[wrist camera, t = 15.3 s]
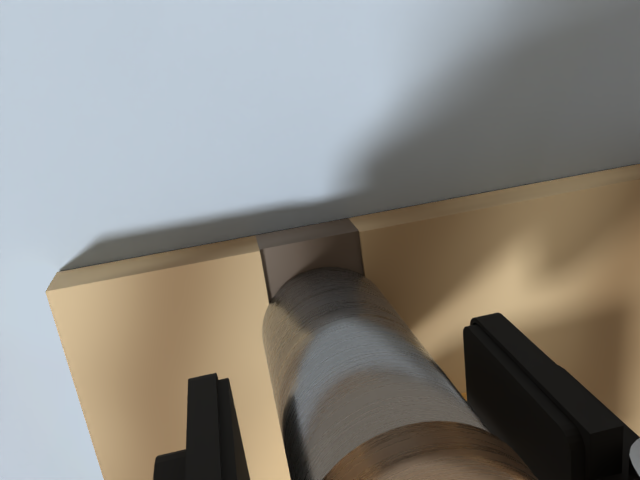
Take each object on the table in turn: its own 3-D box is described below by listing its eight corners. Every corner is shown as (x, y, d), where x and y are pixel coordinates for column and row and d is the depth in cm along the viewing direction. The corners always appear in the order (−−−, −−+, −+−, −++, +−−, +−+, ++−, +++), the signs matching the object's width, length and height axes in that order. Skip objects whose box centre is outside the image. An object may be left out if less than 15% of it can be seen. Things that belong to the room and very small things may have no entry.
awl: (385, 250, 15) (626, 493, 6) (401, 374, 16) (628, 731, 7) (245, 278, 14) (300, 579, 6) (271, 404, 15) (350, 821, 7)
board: (847, 125, 18) (892, 131, 16) (806, 391, 21) (841, 412, 19) (57, 272, 15) (45, 291, 14) (142, 557, 18) (139, 592, 17)
